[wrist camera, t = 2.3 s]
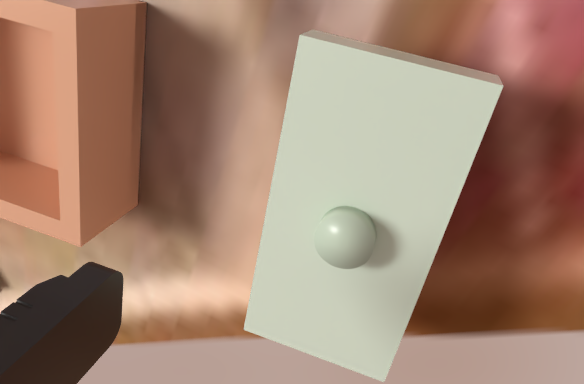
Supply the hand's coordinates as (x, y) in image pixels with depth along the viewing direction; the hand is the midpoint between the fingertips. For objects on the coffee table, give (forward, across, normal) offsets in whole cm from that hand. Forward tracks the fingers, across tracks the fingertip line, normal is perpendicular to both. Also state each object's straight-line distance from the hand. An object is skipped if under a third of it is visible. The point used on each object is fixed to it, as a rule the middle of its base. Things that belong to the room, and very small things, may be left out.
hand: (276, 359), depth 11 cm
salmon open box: (+12, +15, 0) cm, 19 cm away
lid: (+8, -1, 0) cm, 8 cm away
